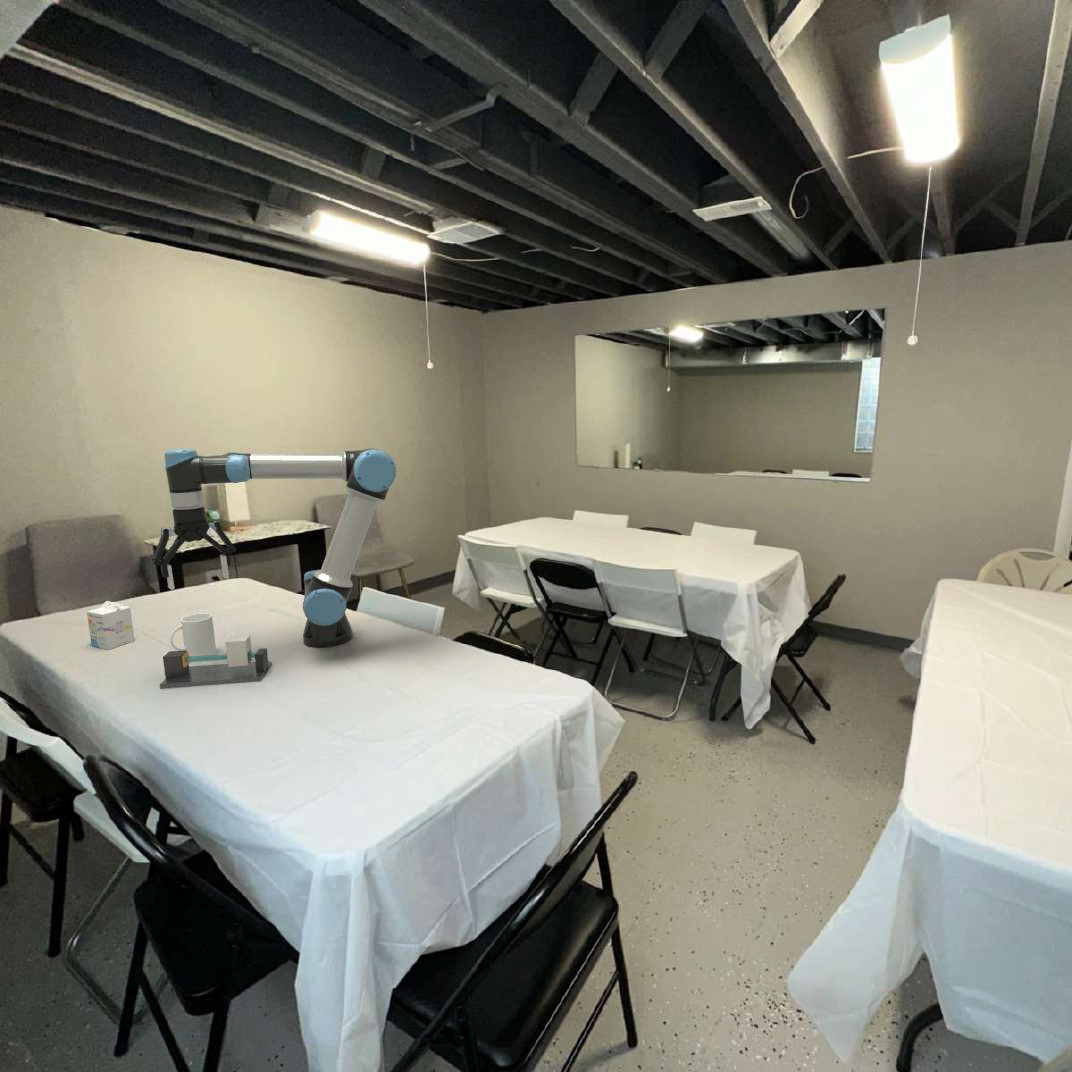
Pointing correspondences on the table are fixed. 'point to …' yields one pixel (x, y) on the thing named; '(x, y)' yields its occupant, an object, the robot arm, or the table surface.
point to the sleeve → (238, 650)
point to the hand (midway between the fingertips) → (199, 583)
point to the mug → (197, 635)
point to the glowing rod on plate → (211, 669)
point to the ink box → (110, 626)
